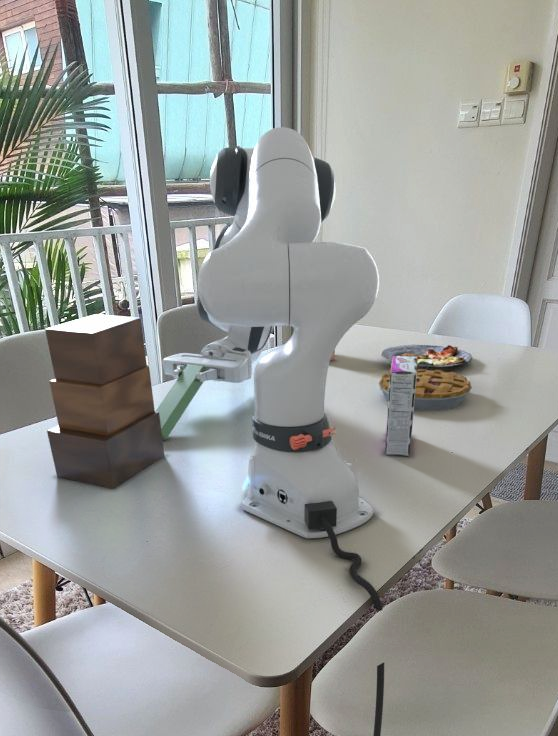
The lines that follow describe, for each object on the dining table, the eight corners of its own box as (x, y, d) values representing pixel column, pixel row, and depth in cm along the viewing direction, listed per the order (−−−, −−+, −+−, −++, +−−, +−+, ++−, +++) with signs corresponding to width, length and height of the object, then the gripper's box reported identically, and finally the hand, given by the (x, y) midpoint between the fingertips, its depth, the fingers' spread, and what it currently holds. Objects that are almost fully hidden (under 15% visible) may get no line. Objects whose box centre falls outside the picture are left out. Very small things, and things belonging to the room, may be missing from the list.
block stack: (111, 446, 127) (89, 313, 113) (164, 455, 122) (147, 318, 108) (56, 477, 114) (24, 331, 101) (113, 488, 109) (87, 338, 96)
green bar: (192, 374, 140) (187, 364, 137) (207, 376, 138) (203, 365, 136) (149, 437, 130) (144, 427, 128) (165, 440, 129) (160, 430, 126)
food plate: (471, 354, 183) (473, 342, 181) (471, 376, 163) (472, 362, 162) (386, 350, 189) (387, 338, 187) (376, 371, 170) (377, 358, 168)
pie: (372, 409, 142) (374, 388, 140) (381, 382, 160) (383, 363, 158) (471, 415, 137) (474, 393, 135) (469, 386, 156) (472, 366, 153)
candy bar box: (386, 434, 129) (392, 355, 120) (410, 436, 128) (418, 355, 119) (383, 455, 119) (389, 370, 111) (409, 457, 118) (418, 371, 110)
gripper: (180, 343, 148) (146, 357, 137) (256, 351, 140) (226, 366, 129) (182, 370, 151) (149, 385, 140) (257, 378, 143) (228, 396, 133)
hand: (187, 376), depth 135 cm, fingers open, 4 cm apart
